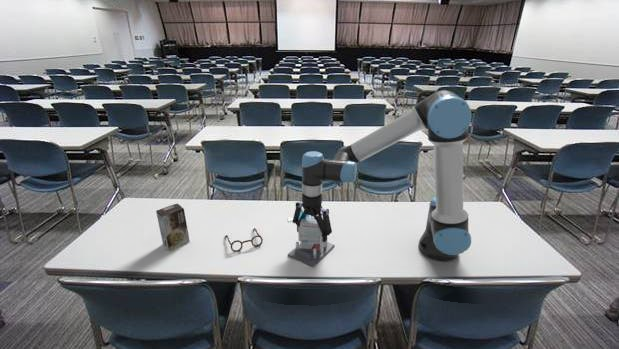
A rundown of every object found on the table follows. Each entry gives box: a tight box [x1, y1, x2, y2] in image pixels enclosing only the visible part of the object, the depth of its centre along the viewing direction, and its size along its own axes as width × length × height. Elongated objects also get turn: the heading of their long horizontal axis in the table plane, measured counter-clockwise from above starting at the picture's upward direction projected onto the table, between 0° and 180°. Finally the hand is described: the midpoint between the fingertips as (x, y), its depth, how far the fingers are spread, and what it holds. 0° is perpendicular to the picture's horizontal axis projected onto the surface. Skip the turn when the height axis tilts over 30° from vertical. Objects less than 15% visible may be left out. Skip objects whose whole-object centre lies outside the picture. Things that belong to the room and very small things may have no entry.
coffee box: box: [155, 203, 190, 251], centre depth 133 cm, size 9×6×16 cm
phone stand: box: [287, 208, 312, 223], centre depth 154 cm, size 20×12×2 cm, turn 5°
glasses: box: [224, 228, 264, 253], centre depth 137 cm, size 13×13×5 cm
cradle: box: [287, 240, 335, 268], centre depth 130 cm, size 12×16×5 cm
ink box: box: [299, 217, 322, 249], centre depth 128 cm, size 9×5×12 cm, turn 84°
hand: (311, 243), depth 130 cm, fingers closed on ink box, 9 cm apart
